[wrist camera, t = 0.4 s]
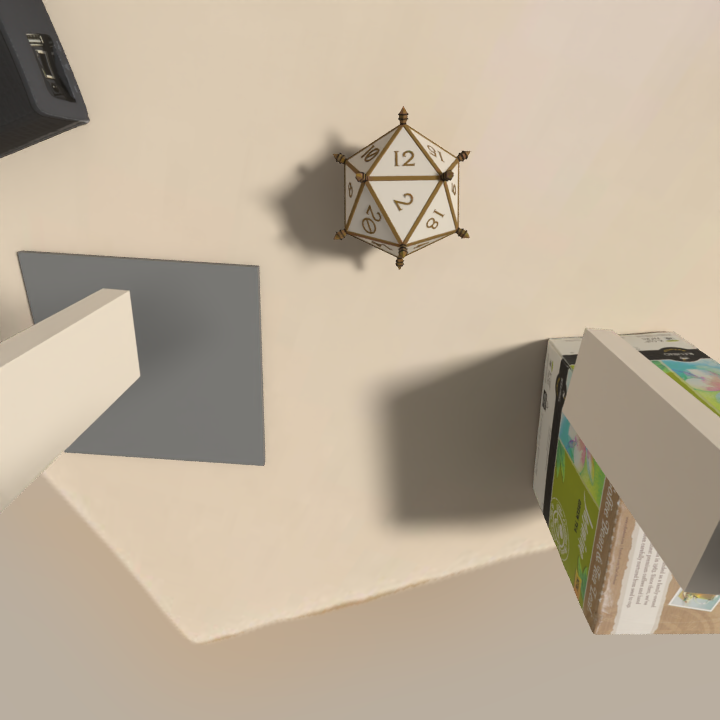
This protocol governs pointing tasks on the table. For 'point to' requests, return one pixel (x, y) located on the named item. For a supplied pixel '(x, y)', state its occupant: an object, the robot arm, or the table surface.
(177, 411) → the mat
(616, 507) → the tea box
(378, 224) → the game die
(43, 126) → the external hard drive
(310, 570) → the table surface
